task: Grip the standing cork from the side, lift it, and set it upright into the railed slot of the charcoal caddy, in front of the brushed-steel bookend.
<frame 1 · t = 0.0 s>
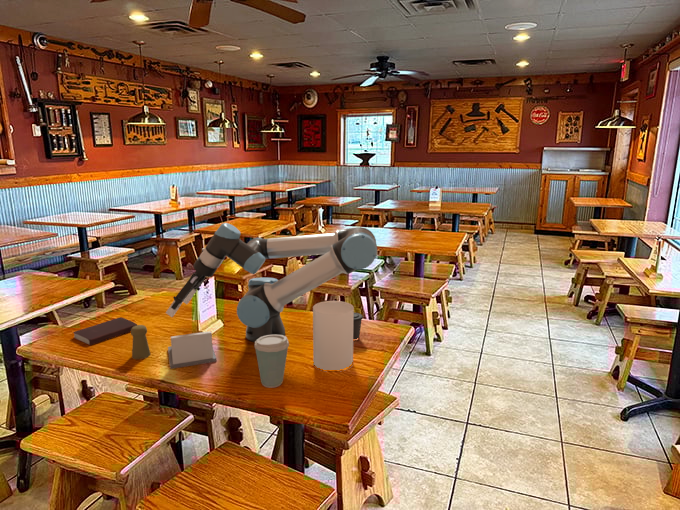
hand: (176, 308, 166), 15 cm above the table, tool tilted 35°, fingers open, 13 cm apart
caddy: (191, 354, 163), on the table
coffee cup: (352, 339, 178), on the table
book: (106, 335, 182), on the table
disposable coffee cup: (272, 383, 144), on the table
cork: (141, 356, 163), on the table
canister: (333, 363, 158), on the table
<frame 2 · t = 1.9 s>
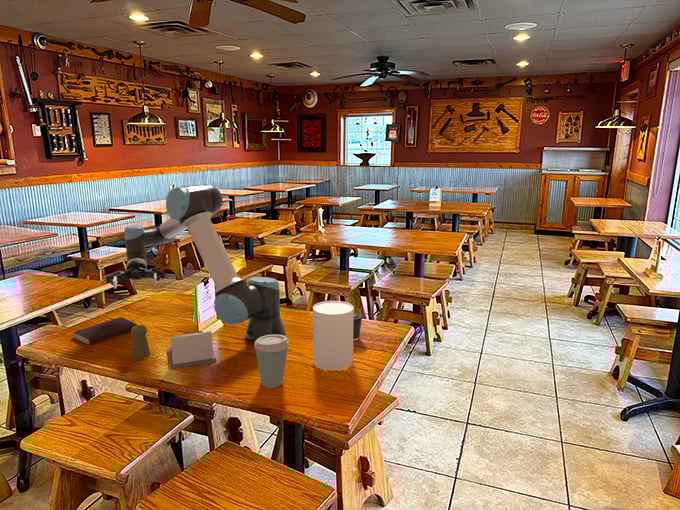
hand: (135, 283, 166), 24 cm above the table, tool horizontal, fingers open, 13 cm apart
nothing on the table moved.
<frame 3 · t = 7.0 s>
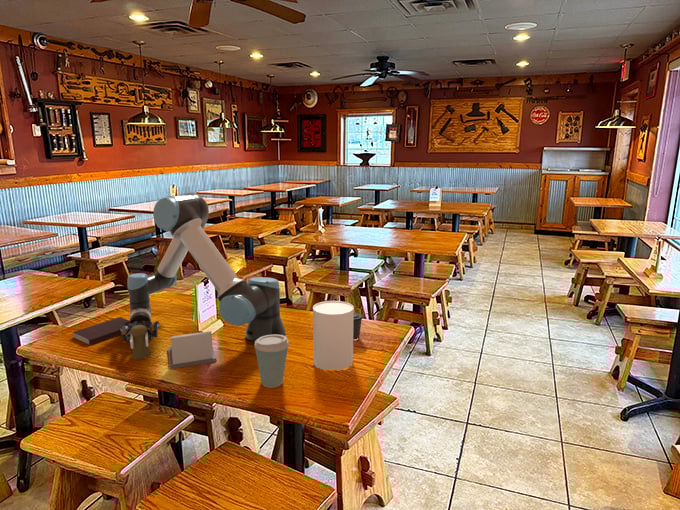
hand: (139, 343, 157), 7 cm above the table, tool horizontal, fingers closed on cork, 4 cm apart
cork: (141, 356, 163), on the table, touching gripper
everything else where it was.
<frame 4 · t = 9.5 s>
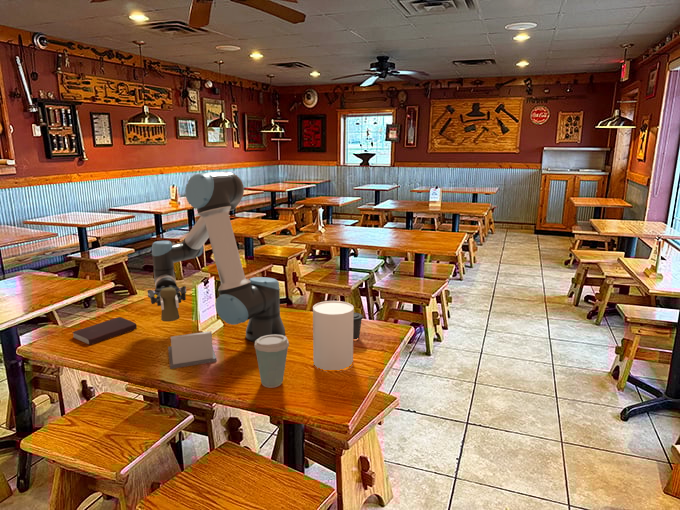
hand: (170, 304, 155), 20 cm above the table, tool horizontal, fingers closed on cork, 4 cm apart
cork: (170, 318, 161), point 13 cm above the table, touching gripper
everything else where it was.
when the fingers open (9 cm above the table, at t = 12.3 s): cork moves 2 cm, resting on caddy.
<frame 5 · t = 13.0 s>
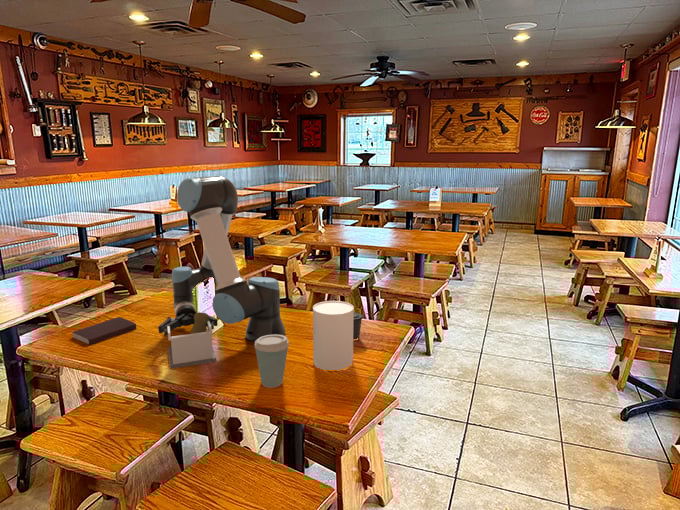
hand: (190, 333, 158), 9 cm above the table, tool horizontal, fingers open, 13 cm apart
cork: (196, 343, 164), point 3 cm above the table, touching caddy, gripper
everything else where it was.
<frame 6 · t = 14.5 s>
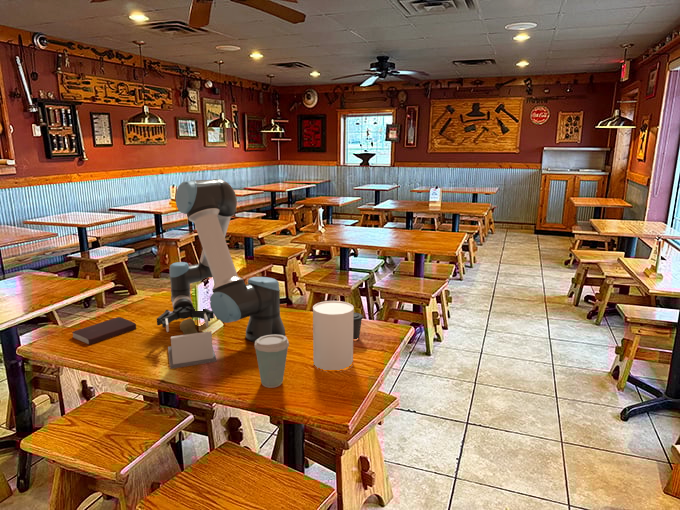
hand: (187, 325, 165), 9 cm above the table, tool horizontal, fingers open, 13 cm apart
cork: (195, 348, 165), point 2 cm above the table, touching caddy
everything else where it was.
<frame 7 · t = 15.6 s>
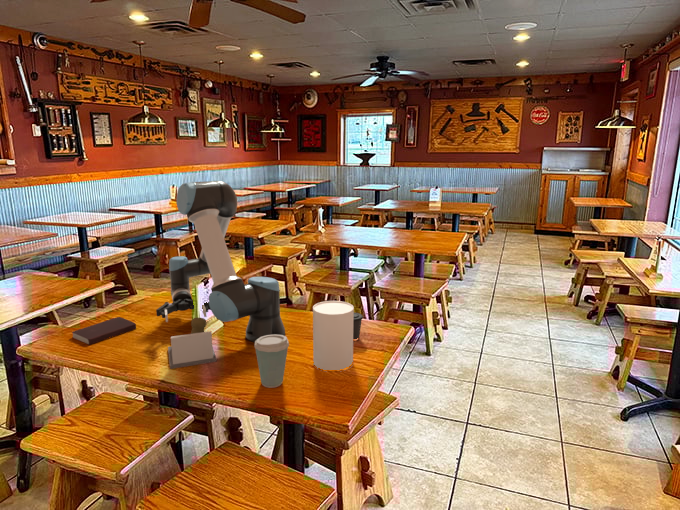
hand: (186, 316, 171), 11 cm above the table, tool horizontal, fingers open, 13 cm apart
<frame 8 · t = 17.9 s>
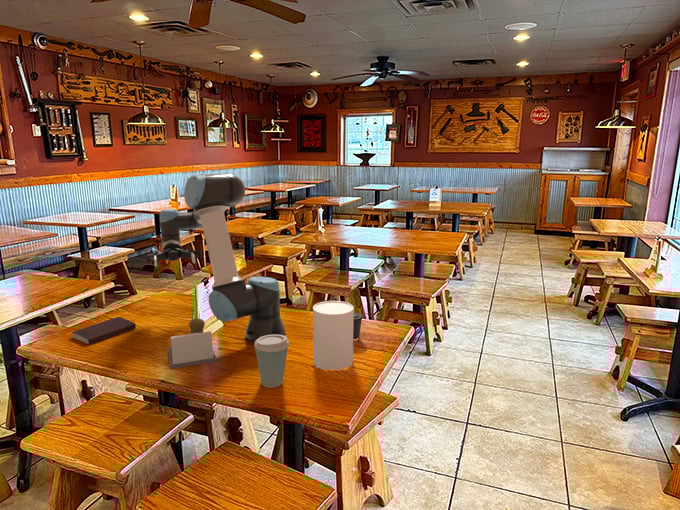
hand: (175, 261, 173), 30 cm above the table, tool horizontal, fingers open, 13 cm apart
at the end: cork inside the target area on the caddy (2.2 cm from its centre), point 1.3 cm above the caddy's base; cork tilted 6°; the gripper is holding nothing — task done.
